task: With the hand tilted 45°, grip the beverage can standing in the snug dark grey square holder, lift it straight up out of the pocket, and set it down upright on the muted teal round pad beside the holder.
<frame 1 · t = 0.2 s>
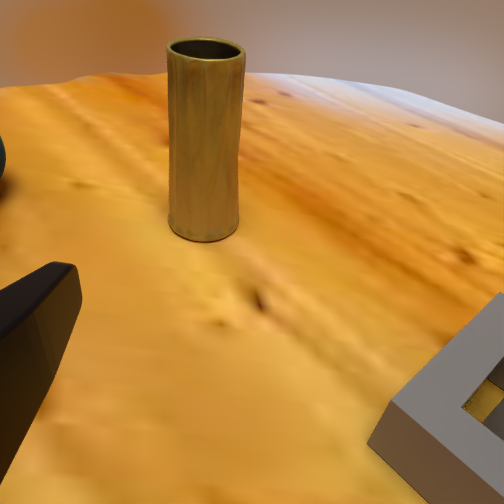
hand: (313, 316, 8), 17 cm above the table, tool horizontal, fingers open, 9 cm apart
vase: (203, 222, 38), on the table
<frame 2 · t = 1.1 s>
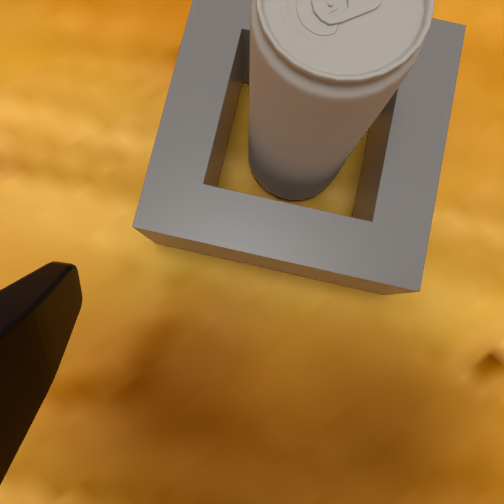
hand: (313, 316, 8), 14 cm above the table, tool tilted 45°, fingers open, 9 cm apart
can holder: (293, 158, 23), on the table
beverage can: (293, 160, 23), resting in can holder
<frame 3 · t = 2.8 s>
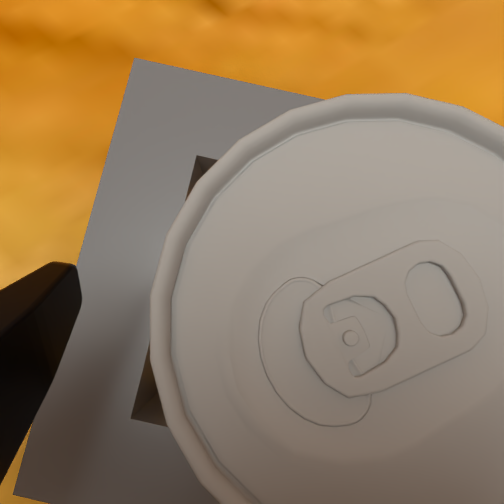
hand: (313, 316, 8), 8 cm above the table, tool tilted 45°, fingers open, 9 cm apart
can holder: (282, 310, 16), on the table
beverage can: (281, 310, 16), resting in can holder
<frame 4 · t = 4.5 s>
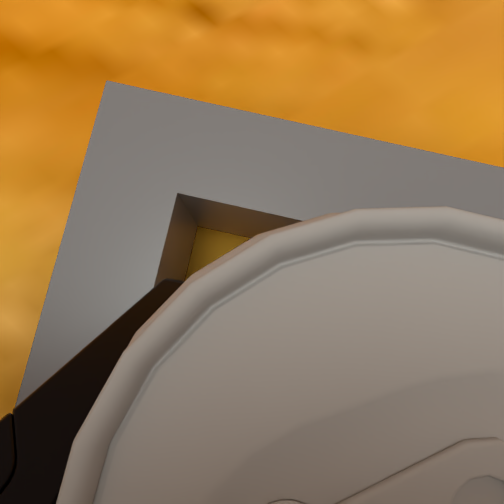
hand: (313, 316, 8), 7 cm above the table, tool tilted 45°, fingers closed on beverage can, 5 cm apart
can holder: (277, 352, 14), on the table
beverage can: (276, 351, 15), resting in can holder, touching gripper
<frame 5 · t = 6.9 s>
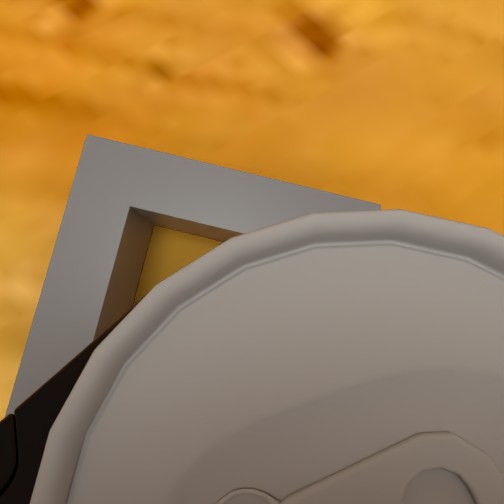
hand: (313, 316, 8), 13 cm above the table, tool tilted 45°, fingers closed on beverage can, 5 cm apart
can holder: (206, 313, 21), on the table
beverage can: (286, 351, 15), point 6 cm above the table, touching gripper
when the fingers open (9 cm above the table, at t = 9.8 s): beverage can stays where it is, resting on teal pad.
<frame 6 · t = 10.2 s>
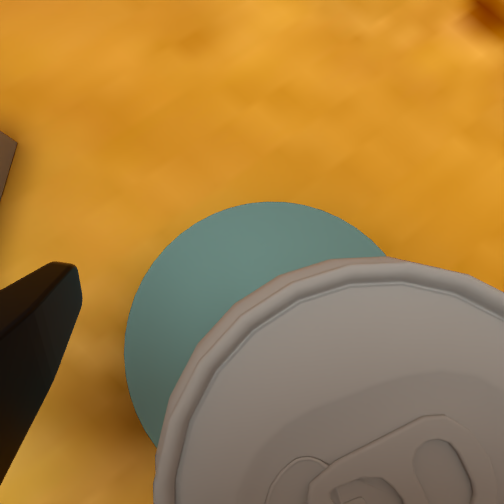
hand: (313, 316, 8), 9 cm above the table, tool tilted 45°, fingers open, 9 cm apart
teal pad: (271, 344, 17), on the table
beverage can: (284, 352, 16), point 1 cm above the table, touching teal pad
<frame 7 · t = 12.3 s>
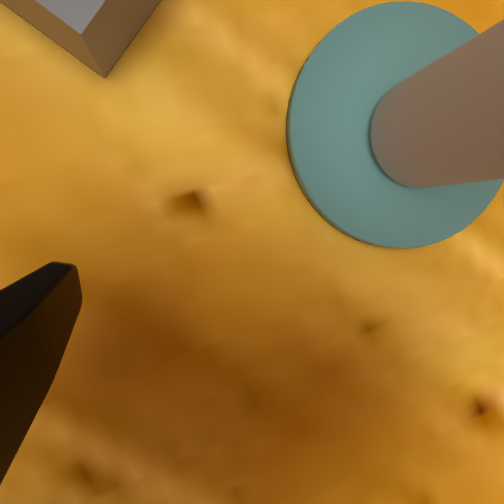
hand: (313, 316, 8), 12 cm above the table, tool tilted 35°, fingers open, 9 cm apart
teal pad: (397, 132, 21), on the table
beverage can: (411, 136, 20), point 1 cm above the table, touching teal pad
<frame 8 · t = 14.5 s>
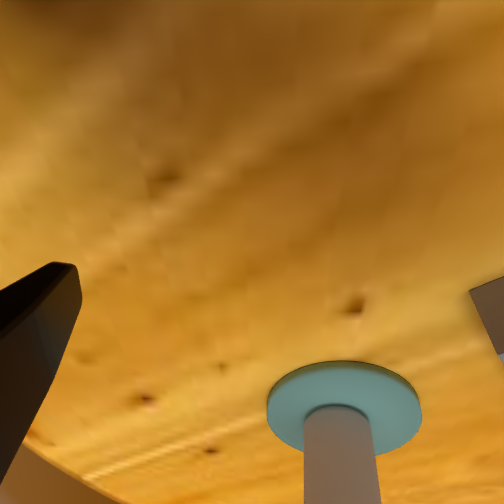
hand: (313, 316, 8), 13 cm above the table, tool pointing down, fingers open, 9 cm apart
teal pad: (341, 408, 32), on the table
beverage can: (335, 418, 31), point 1 cm above the table, touching teal pad
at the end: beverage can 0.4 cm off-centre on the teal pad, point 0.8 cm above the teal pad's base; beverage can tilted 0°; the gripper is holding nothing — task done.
